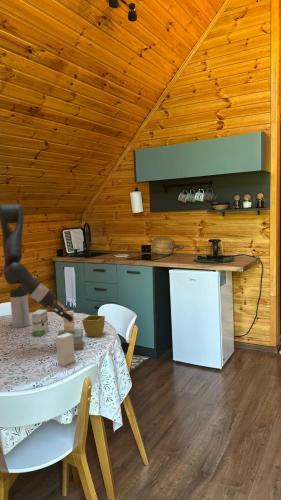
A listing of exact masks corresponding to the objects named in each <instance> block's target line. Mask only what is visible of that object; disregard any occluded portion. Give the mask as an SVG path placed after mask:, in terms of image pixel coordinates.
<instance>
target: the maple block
mask: <svg viewBox="0 0 281 500" xmlns="http://www.w3.org/2000/svg"><path fill="white" fill-rule="evenodd" d="M66 312H67V313H68V314H69V315H70V316H71V317H73V320H72V321H71V322H70V321H68V320H67V319H66V318H64V317H63V330H64V331H71V330H75V329H76V328H75V320H74V319H75V317H74V316H75V315H74V310H68V311H66Z"/></svg>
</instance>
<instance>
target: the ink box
mask: <svg viewBox="0 0 281 500" xmlns="http://www.w3.org/2000/svg"><path fill="white" fill-rule="evenodd" d="M48 318H49V316H48V309H36V310H35V311H34V312H32V313H31V321H32V333H33V334H32V335H33V337H42V336H44V335H45V334H47V333H48V332H49V331H50V330H49V319H48Z"/></svg>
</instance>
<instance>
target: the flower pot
mask: <svg viewBox="0 0 281 500" xmlns="http://www.w3.org/2000/svg"><path fill="white" fill-rule="evenodd" d="M105 317H106V316H105V315H94V314H89V315H88V316H86V317H85V318H83V319H81V322H82V326H83V327H82V328H83V330H84V332H85V334H86V335H87V336H88V337H96V338H97V337H99V336H100V335H101V334H102V333H103V331H104V327H105V320H106V318H105Z"/></svg>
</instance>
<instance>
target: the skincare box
mask: <svg viewBox="0 0 281 500" xmlns="http://www.w3.org/2000/svg"><path fill="white" fill-rule="evenodd" d="M55 341H56V343H55V344H56V345H55V346H56V356H57V357H56V358H57V364H58V365H60V366H63V367H64V366H68V365H69V364H72V363H73V362H75V361H76V358H75V357H76V355H75V350H74V342H73V334H70V333H65V334H62V335H59V336H55Z"/></svg>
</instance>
